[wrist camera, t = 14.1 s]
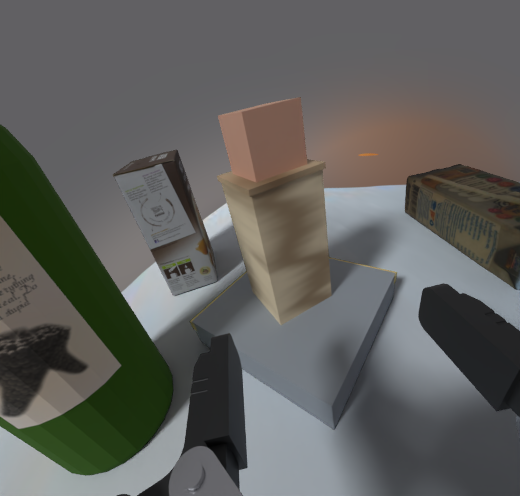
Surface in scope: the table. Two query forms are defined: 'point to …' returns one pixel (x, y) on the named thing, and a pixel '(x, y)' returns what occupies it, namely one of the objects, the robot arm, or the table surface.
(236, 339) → the dock
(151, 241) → the coffee box
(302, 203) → the wooden block
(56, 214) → the wine bottle
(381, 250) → the table surface
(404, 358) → the table surface
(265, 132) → the cube
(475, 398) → the table surface
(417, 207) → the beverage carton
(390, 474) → the table surface
